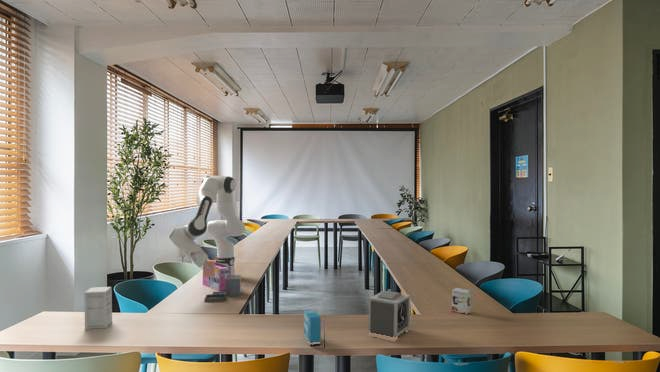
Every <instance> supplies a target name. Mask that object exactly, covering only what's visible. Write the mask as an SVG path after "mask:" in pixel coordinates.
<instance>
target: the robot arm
mask: <svg viewBox="0 0 660 372" xmlns="http://www.w3.org/2000/svg"><path fill="white" fill-rule="evenodd" d="M235 189H236V180H235V179H234V178H233V176H224V175H206V176H204V177H203V178H202V179H201V184H200V187H199V189H198V191H197V194H196V199H195V201H196V203H197V205H198V208H197V211H196V215H195V217H194V218H192V219H191V220H190V222H189V223H188V224H187V225H183V226H181V227H175V228H174V229H173V230H172V232H171V233H170V235H169V240H170V241H171V243H172V244H173V245H174V246H175V248H177V249H179V250H180V251H181V253H182V254H184V256H186V257H187V259H190V260H191V261H192V262H193V263H194V264H195V265H196V266H197V267H198V268H202V267H203V266H204V267H205V268H207V269H208V270H209V269H210V266H209V265H208V264H206V262H205V261H206V260H208V258H209V256H208V254H207V253H206V252H205V251H204V250H203V249H202V248H201V245H200V244H198V243H196V242H195V240H197V239H198V238H199V237H201V236H202V235H204V234H205V233H206V232H207V234H208V236H210V237H211V238H212V239H213V240H214V242H215V245H216V255H217V256H216V257H215V263H219V264H222V265H225V266H228V267H231V275H237V273H236V266H235V259H236V258H235V246H234V244H233V243H232V242H231V241H229V240H227V239H226V237H238V236H243V234H244V233H245V231H246V225H245V223H244V222H243V221H242V220H241V219H239V217H238V216H237V214H236V212H235V205H234V204H235V203H234V191H235ZM215 200H216V212H217V213H218V215H220V216H222V217H223V218H225V219H215V220H210V221H208V220H207V219H208V215H209V214H210V209H211V207H212V206H213V204H214V203H215ZM207 221H208V222H207Z"/></svg>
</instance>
